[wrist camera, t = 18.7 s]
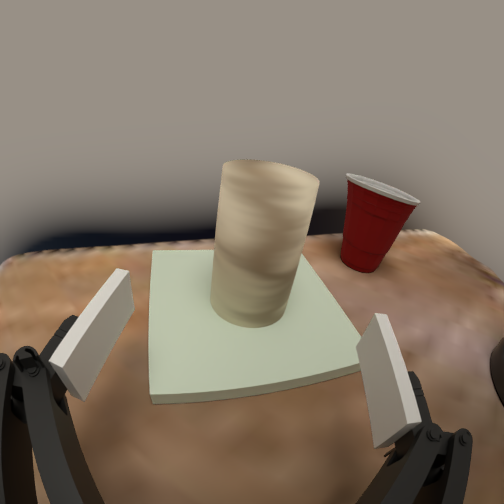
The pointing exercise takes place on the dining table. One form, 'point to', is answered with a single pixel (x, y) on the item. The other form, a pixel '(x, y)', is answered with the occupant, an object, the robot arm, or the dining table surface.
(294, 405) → the dining table surface
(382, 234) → the plastic cup
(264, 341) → the board
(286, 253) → the birch roller
